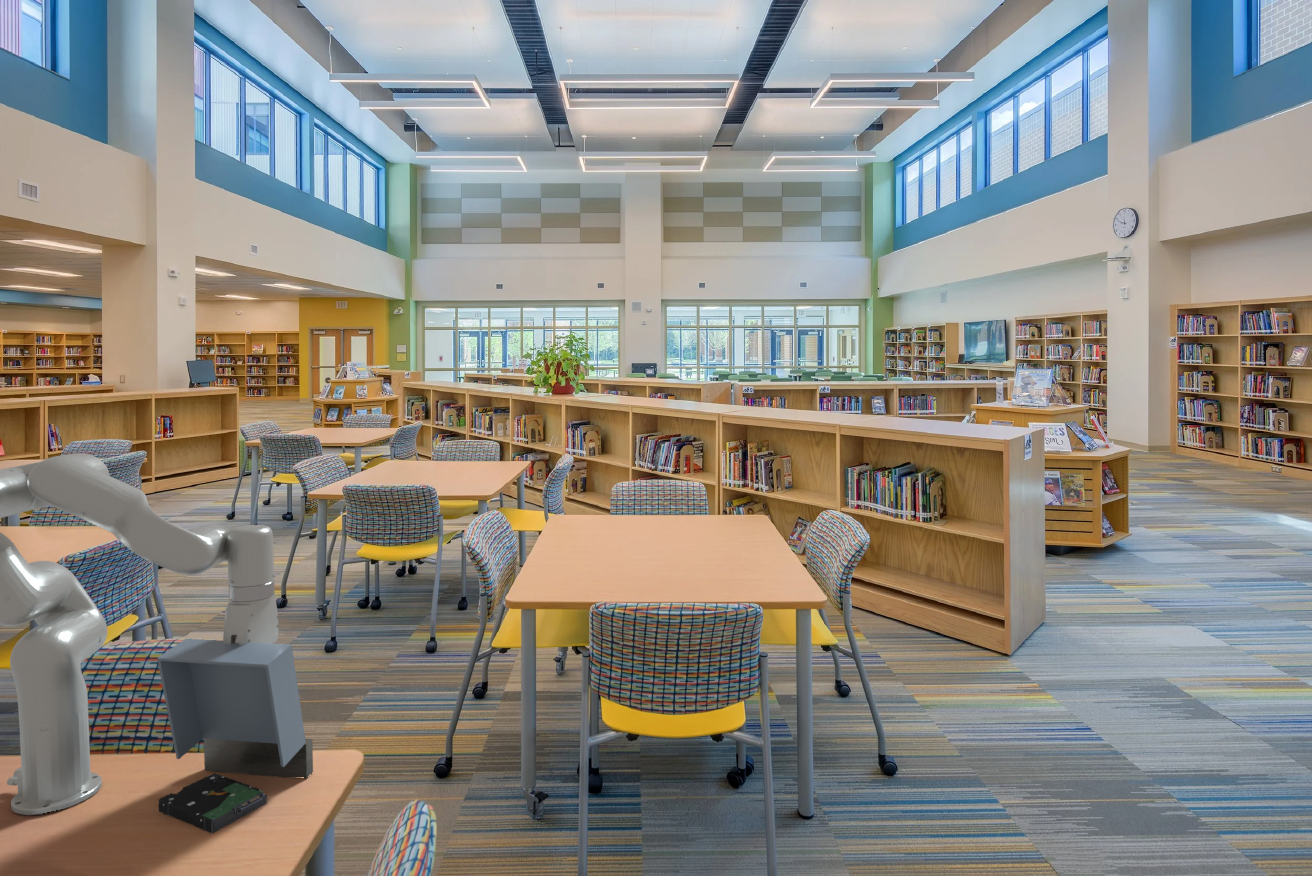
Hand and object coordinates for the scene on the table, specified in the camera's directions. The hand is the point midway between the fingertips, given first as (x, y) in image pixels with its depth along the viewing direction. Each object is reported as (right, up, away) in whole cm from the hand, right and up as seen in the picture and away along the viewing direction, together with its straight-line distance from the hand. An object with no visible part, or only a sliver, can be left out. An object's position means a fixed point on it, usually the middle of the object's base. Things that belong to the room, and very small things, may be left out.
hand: (254, 686), depth 138 cm
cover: (-1, -2, -9) cm, 9 cm away
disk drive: (-2, -19, -10) cm, 21 cm away
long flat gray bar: (0, -17, +2) cm, 17 cm away
